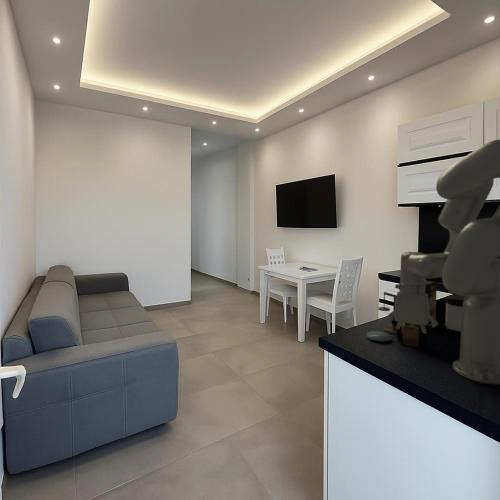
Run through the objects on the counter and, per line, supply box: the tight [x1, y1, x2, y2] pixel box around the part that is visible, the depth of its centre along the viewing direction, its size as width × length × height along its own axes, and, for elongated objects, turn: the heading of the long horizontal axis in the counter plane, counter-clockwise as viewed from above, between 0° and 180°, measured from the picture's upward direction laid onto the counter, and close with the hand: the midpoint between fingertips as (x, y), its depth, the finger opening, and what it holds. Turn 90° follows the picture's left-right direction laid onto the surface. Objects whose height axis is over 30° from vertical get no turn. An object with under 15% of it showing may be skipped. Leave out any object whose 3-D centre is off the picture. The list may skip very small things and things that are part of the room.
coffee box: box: [425, 280, 438, 324], centre depth 130 cm, size 9×6×16 cm
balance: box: [378, 291, 414, 337], centre depth 116 cm, size 4×12×15 cm, turn 58°
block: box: [402, 325, 420, 348], centre depth 105 cm, size 4×4×6 cm
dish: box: [366, 330, 392, 343], centre depth 110 cm, size 8×8×1 cm
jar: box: [444, 294, 465, 333], centre depth 120 cm, size 9×8×12 cm
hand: (410, 341), depth 106 cm, fingers open, 5 cm apart
